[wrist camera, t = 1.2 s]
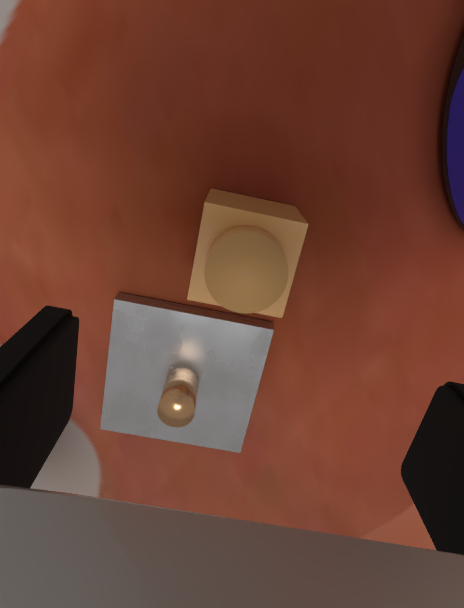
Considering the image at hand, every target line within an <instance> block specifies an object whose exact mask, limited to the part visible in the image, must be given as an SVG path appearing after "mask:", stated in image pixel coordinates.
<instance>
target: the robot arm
mask: <svg viewBox="0 0 464 608" xmlns="http://www.w3.org/2000/svg"><path fill="white" fill-rule="evenodd" d="M78 331H79V318H78V317H74V316H72V311H71V310H68V309H63V308H57V307H52V306H45V307H44V308H43V309H42V310H41V311H40V312H38V313H37V314H36V315H35V316H34V317H33V318H32V319H31V320H30V321H29V322H28V323H26V324H25V325H24V326H23V327H22V328H21V329H20V330H19V331H18V332H17V333H15V334H14V335H13V336H12V337H11V338H10V339H9V340H8V341H7V342H6V343H5V344H3V345H2V346H1V347H0V608H464V384H460V383H454V382H447V383H446V384H445V385H444V386H440V387H438V388H437V390H436V392H435V394H434V396H433V398H432V400H431V403H430V405H429V407H428V409H427V411H426V413H425V416H424V418H423V420H422V422H421V424H420V426H419V429H418V431H417V433H416V435H415V437H414V439H413V441H412V444H411V446H410V448H409V450H408V452H407V454H406V457H405V459H404V461H403V463H402V466H401V475H402V479H403V481H404V483H405V485H406V487H407V489H408V491H409V494H410V496H411V498H412V500H413V502H414V504H415V506H416V508H417V510H418V512H419V514H420V516H421V518H422V520H423V523H424V525H425V527H426V529H427V531H428V533H429V535H430V537H431V539H432V541H433V543H434V545H435V547H436V550H437V551H436V550H430V549H423V548H416V547H410V546H404V545H398V544H392V543H385V542H379V541H373V540H366V539H360V538H354V537H348V536H342V535H335V534H329V533H322V532H316V531H310V530H303V529H297V528H291V527H284V526H278V525H272V524H265V523H259V522H253V521H247V520H240V519H234V518H228V517H221V516H215V515H209V514H202V513H196V512H189V511H183V510H176V509H170V508H163V507H157V506H150V505H143V504H137V503H130V502H124V501H117V500H111V499H104V498H98V497H91V496H85V495H78V494H72V493H64V492H56V491H48V490H38V489H31V488H30V487H31V485H32V483H33V482H34V480H35V478H36V477H37V475H38V473H39V471H40V470H41V468H42V466H43V464H44V463H45V461H46V459H47V458H48V456H49V454H50V452H51V451H52V449H53V447H54V445H55V444H56V442H57V440H58V439H59V437H60V435H61V433H62V432H63V430H64V428H65V427H66V425H67V423H68V421H69V419H70V416H71V413H72V408H73V396H74V383H75V370H76V357H77V344H78Z"/></svg>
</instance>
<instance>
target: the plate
mask: <svg viewBox="0 0 464 608" xmlns="http://www.w3.org/2000/svg"><path fill="white" fill-rule="evenodd" d="M273 332H274V327H273V322H271V321H266V320H260V319H255V318H250V317H245V316H240V315H235V314H229V313H224V312H219V311H214V310H209V309H204V308H199V307H193V306H188V305H183V304H178V303H173V302H168V301H162V300H157V299H152V298H147V297H142V296H137V295H131V294H126V293H121V292H119V293H118V295H117V296H116V297H115V299H114V306H113V315H112V325H111V334H110V343H109V353H108V362H107V372H106V381H105V390H104V400H103V409H102V418H101V428H100V429H103V430H109V431H115V432H121V433H127V434H133V435H139V436H144V437H150V438H156V439H162V440H168V441H174V442H180V443H185V444H191V445H197V446H203V447H209V448H215V449H221V450H227V451H232V452H238V453H240V452H241V448H242V445H243V441H244V437H245V434H246V430H247V426H248V423H249V419H250V415H251V412H252V408H253V405H254V401H255V397H256V394H257V390H258V386H259V383H260V379H261V375H262V372H263V368H264V364H265V361H266V357H267V354H268V350H269V346H270V343H271V339H272V335H273Z"/></svg>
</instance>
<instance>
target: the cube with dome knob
mask: <svg viewBox="0 0 464 608" xmlns="http://www.w3.org/2000/svg"><path fill="white" fill-rule="evenodd" d="M307 228H308V223H307V221H306V220H305V219H304V217H303V216H302V215H301V213H300V212H299V211H298V209H297V208H296V207H295V206H292V205H287V204H283V203H278V202H273V201H269V200H264V199H259V198H255V197H250V196H245V195H241V194H236V193H231V192H227V191H222V190H217V189H213V188H211V189H210V191H209V193H208V195H207V198H206V200H205V203H204V208H203V214H202V219H201V225H200V230H199V236H198V242H197V247H196V253H195V258H194V264H193V269H192V275H191V281H190V286H189V292H188V297H187V300H192V301H197V302H202V303H207V304H212V305H217V306H222V307H224V308H226V309H228V310H230V311H233V312H237V313H258V314H263V315H269V316H274V317H279V318H282V317H283V314H284V310H285V307H286V303H287V300H288V296H289V292H290V289H291V285H292V282H293V278H294V275H295V271H296V267H297V264H298V260H299V257H300V253H301V250H302V246H303V242H304V239H305V235H306V232H307Z"/></svg>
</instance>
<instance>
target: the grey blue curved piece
mask: <svg viewBox="0 0 464 608" xmlns="http://www.w3.org/2000/svg"><path fill="white" fill-rule="evenodd" d="M442 164H443V173H444V180H445V186H446V191H447V195H448V199H449V202H450V205H451V208H452V211H453V213H454V215H455V217H456V219H457V221H458V223H459V224H460V226H461V227H462V228H463V230H464V36H463V39H462V42H461V45H460V48H459V51H458V54H457V57H456V60H455V63H454V67H453V71H452V75H451V79H450V83H449V88H448V93H447V97H446V104H445V110H444V119H443V129H442Z"/></svg>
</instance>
